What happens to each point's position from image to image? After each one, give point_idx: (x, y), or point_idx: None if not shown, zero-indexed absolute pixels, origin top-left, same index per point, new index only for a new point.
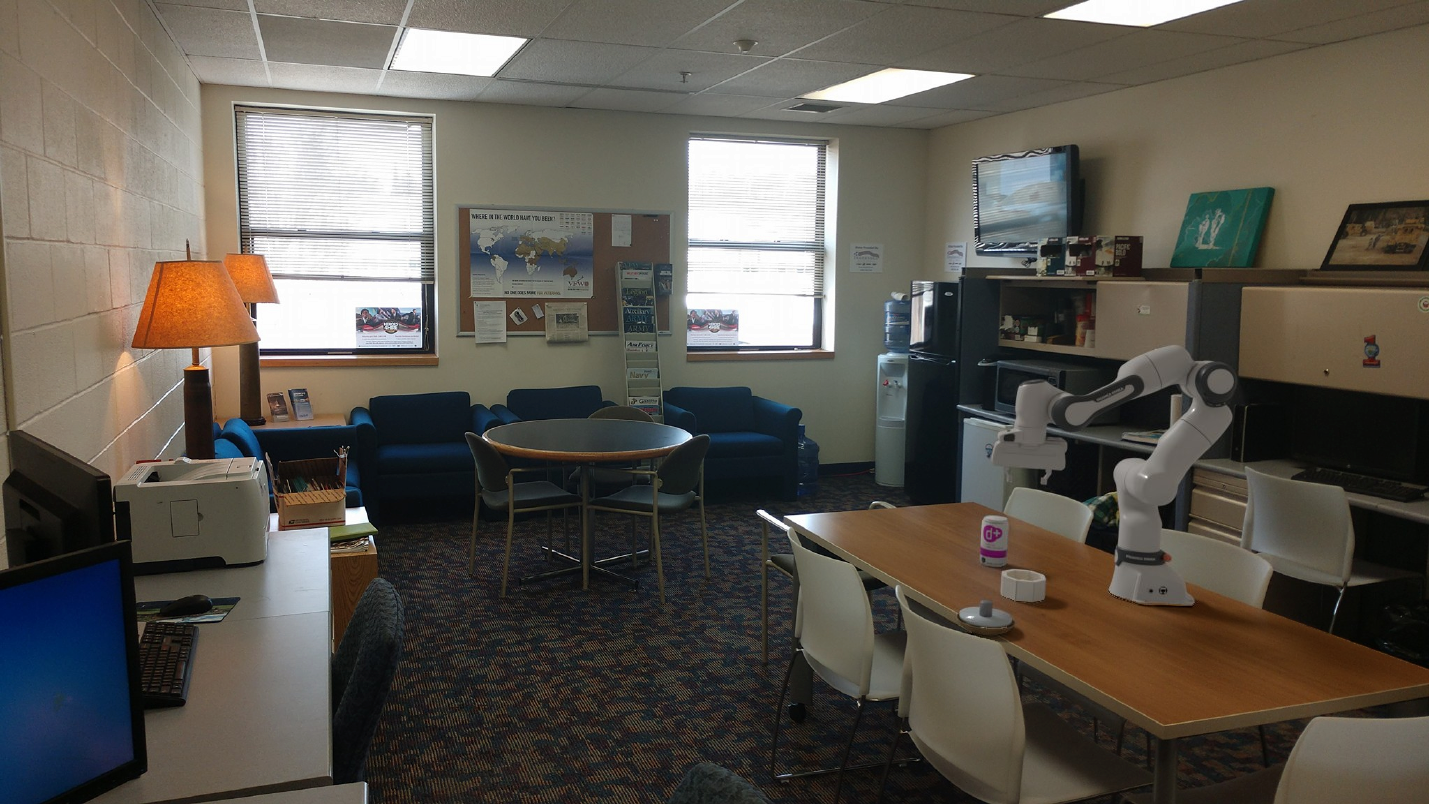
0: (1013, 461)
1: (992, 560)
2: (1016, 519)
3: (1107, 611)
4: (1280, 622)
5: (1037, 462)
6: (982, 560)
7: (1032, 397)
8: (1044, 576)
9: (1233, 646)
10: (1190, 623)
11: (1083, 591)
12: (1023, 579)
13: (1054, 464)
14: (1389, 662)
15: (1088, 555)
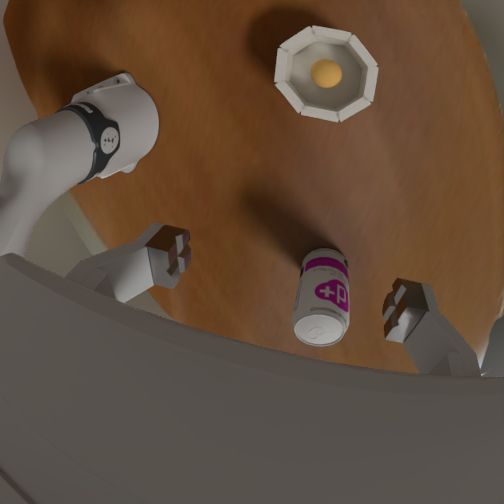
0: (448, 433)
1: (333, 255)
2: None
3: (181, 23)
4: (28, 84)
5: (124, 378)
6: (347, 264)
7: None
8: (275, 70)
9: None
10: (91, 26)
11: (197, 123)
12: (325, 73)
13: (6, 292)
14: (7, 23)
15: (171, 299)
